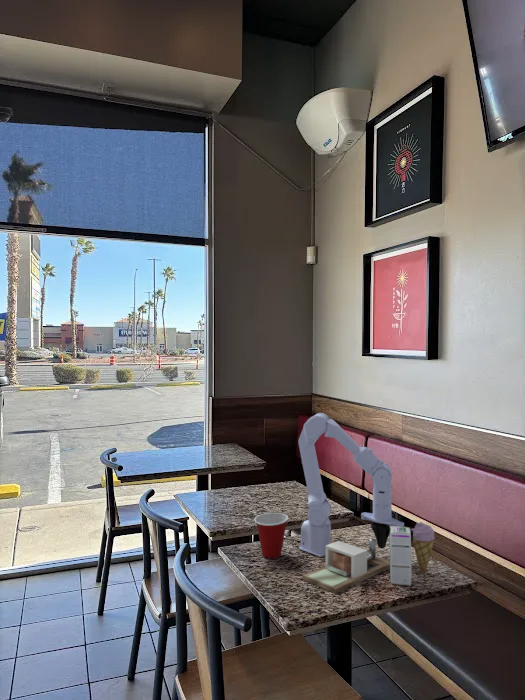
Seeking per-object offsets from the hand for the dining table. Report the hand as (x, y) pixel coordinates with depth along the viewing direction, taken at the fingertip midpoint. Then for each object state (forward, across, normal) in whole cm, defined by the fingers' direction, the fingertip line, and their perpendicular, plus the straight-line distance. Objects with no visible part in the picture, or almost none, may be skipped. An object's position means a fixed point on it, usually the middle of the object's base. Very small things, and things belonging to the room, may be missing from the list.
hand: (381, 547), depth 168 cm
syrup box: (+4, -13, +10) cm, 17 cm away
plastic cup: (+4, +25, +24) cm, 35 cm away
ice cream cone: (+4, -14, 0) cm, 14 cm away
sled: (+2, 0, +13) cm, 13 cm away
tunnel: (+2, 0, +18) cm, 18 cm away
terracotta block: (+1, 0, +20) cm, 20 cm away
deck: (+3, 0, +16) cm, 17 cm away
